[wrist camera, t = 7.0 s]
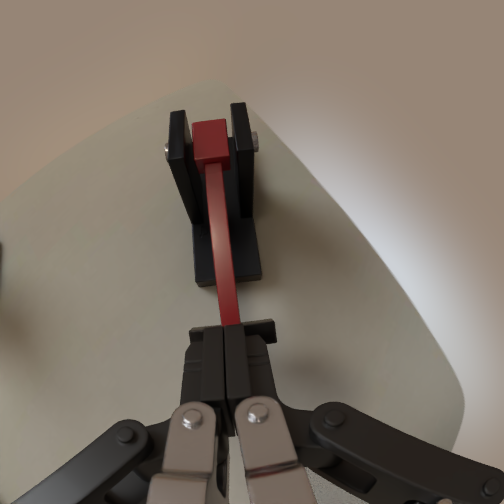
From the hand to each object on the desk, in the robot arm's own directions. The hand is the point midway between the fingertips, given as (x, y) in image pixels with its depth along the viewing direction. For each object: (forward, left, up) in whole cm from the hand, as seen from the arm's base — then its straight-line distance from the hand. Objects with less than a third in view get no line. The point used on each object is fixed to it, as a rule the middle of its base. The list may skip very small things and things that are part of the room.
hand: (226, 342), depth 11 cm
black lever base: (+11, -6, -11) cm, 17 cm away
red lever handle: (+6, -3, -6) cm, 9 cm away
